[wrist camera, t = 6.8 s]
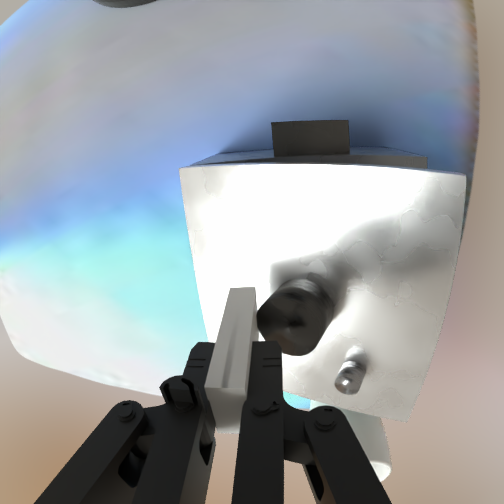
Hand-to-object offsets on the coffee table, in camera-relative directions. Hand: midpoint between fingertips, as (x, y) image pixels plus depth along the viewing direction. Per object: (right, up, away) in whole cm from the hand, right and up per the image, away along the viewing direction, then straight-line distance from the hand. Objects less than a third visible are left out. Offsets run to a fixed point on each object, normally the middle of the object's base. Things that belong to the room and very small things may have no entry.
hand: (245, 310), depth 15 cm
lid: (+3, 0, +1) cm, 3 cm away
